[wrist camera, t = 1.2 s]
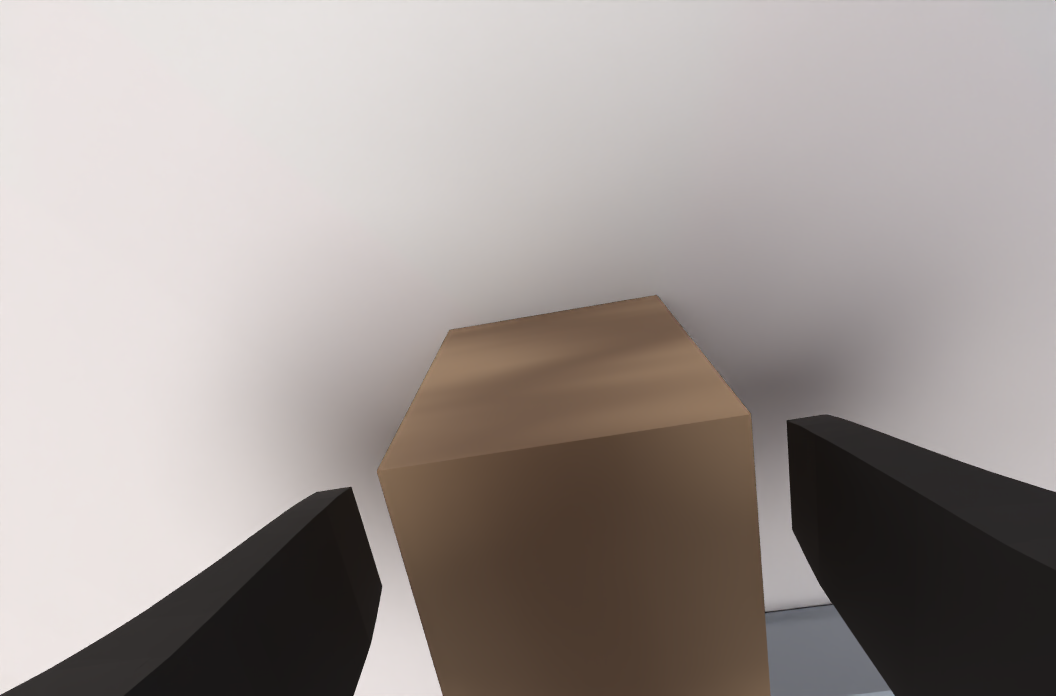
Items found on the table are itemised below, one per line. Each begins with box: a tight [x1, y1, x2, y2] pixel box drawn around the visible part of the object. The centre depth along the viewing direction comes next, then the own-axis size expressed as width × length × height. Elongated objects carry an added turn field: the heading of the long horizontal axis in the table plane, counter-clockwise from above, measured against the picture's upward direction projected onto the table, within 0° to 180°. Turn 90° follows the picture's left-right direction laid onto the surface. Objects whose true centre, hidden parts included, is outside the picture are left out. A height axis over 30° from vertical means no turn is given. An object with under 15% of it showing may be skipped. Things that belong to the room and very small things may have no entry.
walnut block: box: [377, 295, 771, 696], centre depth 11 cm, size 4×4×6 cm
